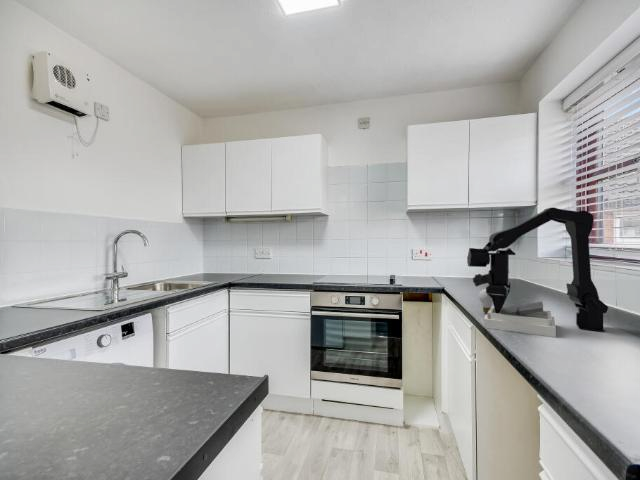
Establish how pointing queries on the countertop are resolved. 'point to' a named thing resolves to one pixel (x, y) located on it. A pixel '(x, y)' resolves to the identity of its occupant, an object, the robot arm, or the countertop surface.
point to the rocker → (522, 309)
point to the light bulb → (485, 300)
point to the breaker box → (522, 322)
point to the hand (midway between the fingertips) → (498, 310)
